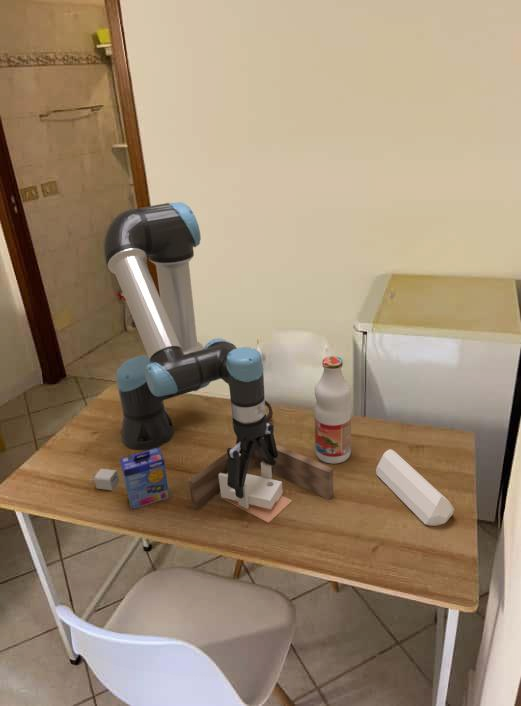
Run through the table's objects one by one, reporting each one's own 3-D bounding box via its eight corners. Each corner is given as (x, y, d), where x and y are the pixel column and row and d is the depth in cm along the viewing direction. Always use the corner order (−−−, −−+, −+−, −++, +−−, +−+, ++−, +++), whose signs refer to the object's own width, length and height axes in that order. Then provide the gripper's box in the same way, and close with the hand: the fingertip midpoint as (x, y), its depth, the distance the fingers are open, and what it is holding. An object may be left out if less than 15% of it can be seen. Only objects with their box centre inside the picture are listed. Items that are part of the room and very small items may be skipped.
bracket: (221, 500, 133) (218, 475, 130) (234, 481, 139) (231, 457, 136) (271, 512, 128) (268, 486, 125) (282, 493, 134) (280, 468, 130)
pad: (220, 497, 135) (220, 496, 135) (245, 478, 141) (245, 477, 141) (268, 523, 126) (268, 522, 126) (292, 501, 132) (292, 500, 132)
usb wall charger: (112, 491, 139) (109, 479, 138) (87, 488, 141) (84, 476, 139) (119, 481, 143) (117, 469, 141) (95, 478, 145) (92, 466, 143)
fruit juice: (357, 459, 145) (358, 364, 133) (324, 468, 142) (323, 372, 130) (340, 440, 153) (340, 349, 141) (309, 448, 151) (307, 356, 138)
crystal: (365, 460, 138) (425, 522, 118) (387, 442, 139) (450, 500, 118) (377, 477, 142) (437, 539, 122) (398, 459, 143) (461, 518, 122)
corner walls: (192, 507, 132) (188, 480, 129) (254, 459, 148) (252, 434, 144) (273, 554, 117) (271, 525, 114) (333, 495, 133) (333, 468, 129)
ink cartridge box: (131, 511, 132) (121, 462, 126) (127, 497, 137) (116, 449, 131) (171, 498, 136) (163, 449, 129) (165, 485, 140) (157, 438, 134)
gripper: (229, 443, 114) (238, 527, 123) (291, 399, 128) (294, 478, 138) (203, 431, 118) (214, 513, 128) (265, 390, 132) (271, 467, 142)
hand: (255, 495), depth 133 cm, fingers closed on bracket, 8 cm apart
